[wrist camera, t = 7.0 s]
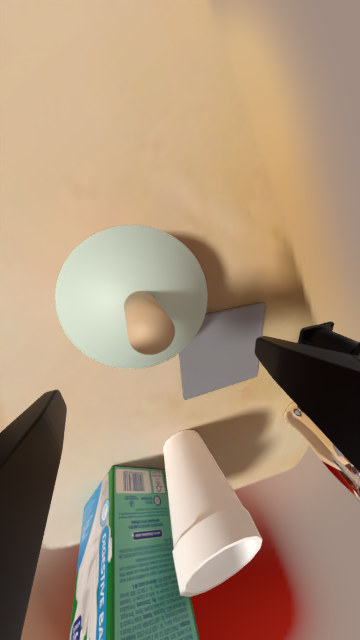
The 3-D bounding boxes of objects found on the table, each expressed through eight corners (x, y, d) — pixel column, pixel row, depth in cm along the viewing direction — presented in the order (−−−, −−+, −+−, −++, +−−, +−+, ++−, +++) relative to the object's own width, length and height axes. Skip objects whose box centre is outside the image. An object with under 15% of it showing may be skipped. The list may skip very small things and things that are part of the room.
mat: (262, 302, 24) (265, 303, 24) (254, 374, 29) (257, 376, 29) (175, 320, 21) (177, 322, 21) (183, 397, 26) (184, 400, 26)
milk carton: (136, 505, 32) (182, 1056, 10) (83, 507, 28) (-23, 1421, 6) (163, 468, 31) (282, 1015, 9) (112, 465, 27) (103, 1446, 5)
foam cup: (141, 449, 28) (161, 594, 16) (193, 412, 28) (246, 527, 17) (172, 471, 32) (204, 598, 21) (216, 440, 33) (270, 545, 21)
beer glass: (284, 402, 35) (385, 498, 22) (312, 392, 37) (421, 474, 24) (278, 427, 38) (365, 525, 25) (304, 416, 40) (399, 502, 27)
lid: (201, 220, 14) (249, 208, 9) (205, 347, 19) (238, 384, 14) (30, 232, 12) (-36, 223, 6) (84, 378, 16) (71, 440, 11)
